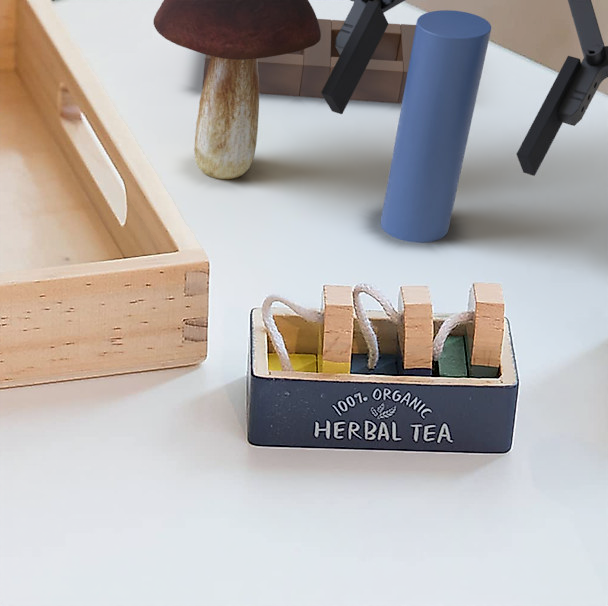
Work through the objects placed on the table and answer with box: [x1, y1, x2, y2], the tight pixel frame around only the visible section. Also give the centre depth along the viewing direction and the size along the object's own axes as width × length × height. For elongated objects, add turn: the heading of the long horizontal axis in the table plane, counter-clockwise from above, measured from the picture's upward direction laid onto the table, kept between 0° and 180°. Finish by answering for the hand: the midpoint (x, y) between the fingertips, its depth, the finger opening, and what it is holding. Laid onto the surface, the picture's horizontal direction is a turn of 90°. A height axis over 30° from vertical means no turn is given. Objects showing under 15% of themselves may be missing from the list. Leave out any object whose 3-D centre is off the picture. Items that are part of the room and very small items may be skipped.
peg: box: [380, 9, 492, 243], centre depth 97 cm, size 4×4×14 cm
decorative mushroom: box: [153, 0, 321, 180], centre depth 102 cm, size 11×11×15 cm
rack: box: [201, 18, 416, 105], centre depth 119 cm, size 17×9×3 cm, turn 80°
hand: (424, 134), depth 96 cm, fingers open, 13 cm apart
